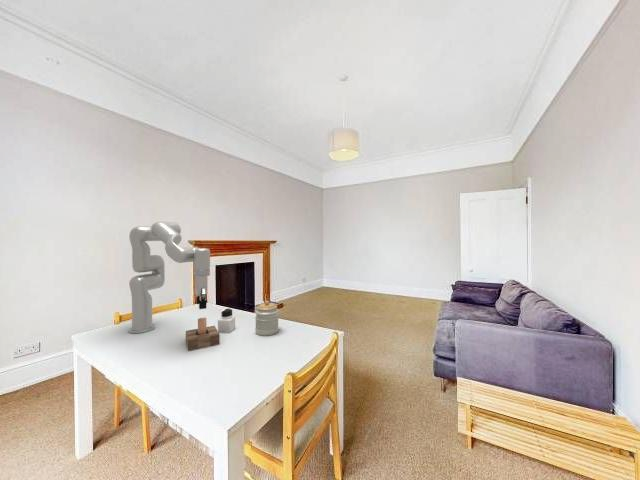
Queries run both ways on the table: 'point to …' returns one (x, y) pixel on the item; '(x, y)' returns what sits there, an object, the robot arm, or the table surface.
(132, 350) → the table surface
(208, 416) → the table surface
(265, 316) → the jar
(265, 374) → the table surface
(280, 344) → the table surface
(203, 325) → the peg
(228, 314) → the medicine bottle
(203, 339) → the socket block
